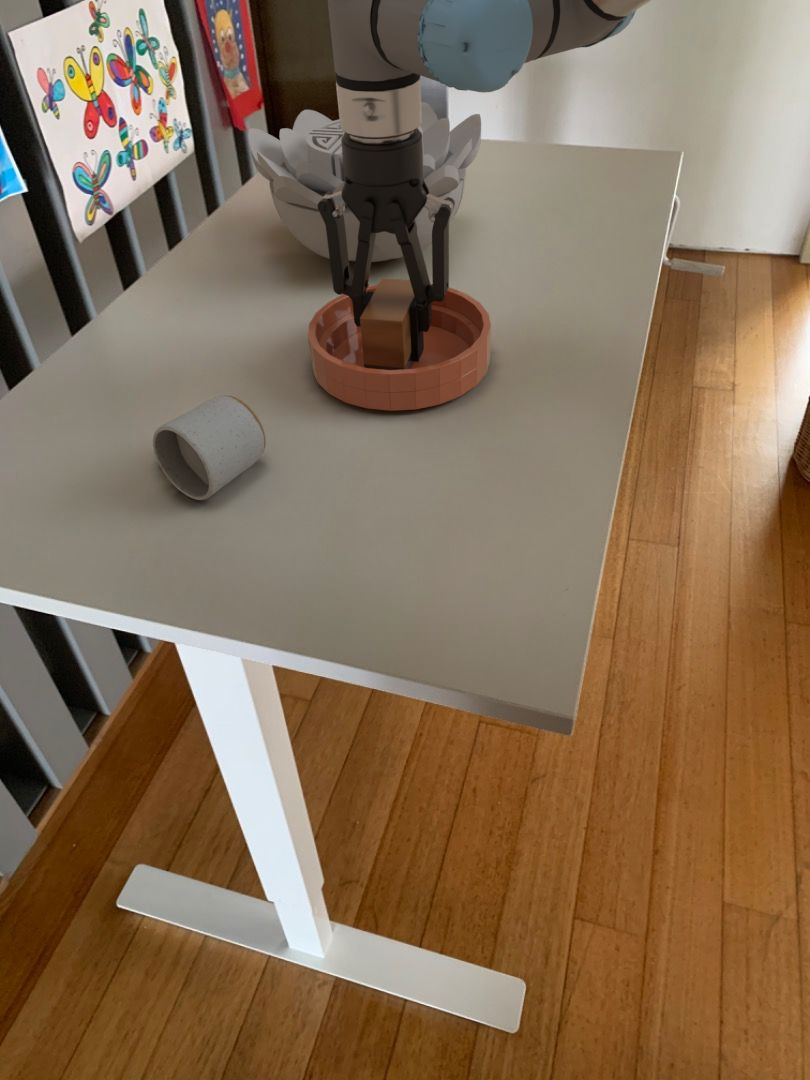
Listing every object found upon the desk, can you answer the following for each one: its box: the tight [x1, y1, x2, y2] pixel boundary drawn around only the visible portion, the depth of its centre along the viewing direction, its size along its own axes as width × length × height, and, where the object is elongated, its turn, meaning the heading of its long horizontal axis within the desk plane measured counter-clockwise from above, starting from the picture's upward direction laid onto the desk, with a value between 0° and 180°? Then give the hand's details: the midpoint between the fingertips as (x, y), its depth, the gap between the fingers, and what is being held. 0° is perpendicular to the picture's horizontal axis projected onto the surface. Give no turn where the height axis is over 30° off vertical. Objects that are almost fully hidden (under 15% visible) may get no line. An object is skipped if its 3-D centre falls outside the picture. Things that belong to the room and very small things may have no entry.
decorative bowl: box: [248, 101, 482, 263], centre depth 112 cm, size 30×30×15 cm
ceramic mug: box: [152, 395, 267, 501], centre depth 79 cm, size 11×8×8 cm
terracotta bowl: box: [307, 283, 492, 412], centre depth 92 cm, size 20×20×5 cm
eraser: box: [360, 277, 424, 370], centre depth 91 cm, size 9×4×7 cm, turn 167°
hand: (394, 352), depth 93 cm, fingers closed on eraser, 4 cm apart
